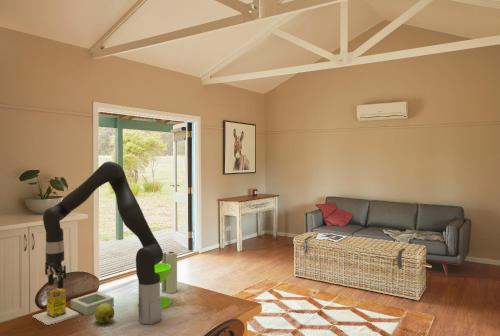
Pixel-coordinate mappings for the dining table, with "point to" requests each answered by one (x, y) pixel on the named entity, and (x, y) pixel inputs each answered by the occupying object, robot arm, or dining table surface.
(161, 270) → the wineglass
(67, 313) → the mat
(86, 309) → the frame
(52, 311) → the supplement box
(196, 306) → the dining table surface
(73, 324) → the dining table surface
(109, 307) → the apple
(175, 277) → the paper towel roll
